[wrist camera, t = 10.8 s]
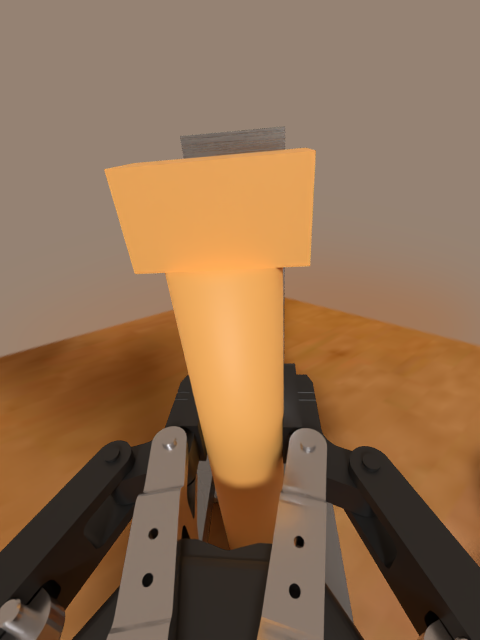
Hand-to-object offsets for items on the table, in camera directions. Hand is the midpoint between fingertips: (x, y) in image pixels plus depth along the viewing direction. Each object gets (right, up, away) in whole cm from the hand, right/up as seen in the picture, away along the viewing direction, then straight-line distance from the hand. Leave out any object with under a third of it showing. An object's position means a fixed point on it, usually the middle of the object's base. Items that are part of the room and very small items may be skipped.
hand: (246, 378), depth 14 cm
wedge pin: (+1, -10, +3) cm, 11 cm away
